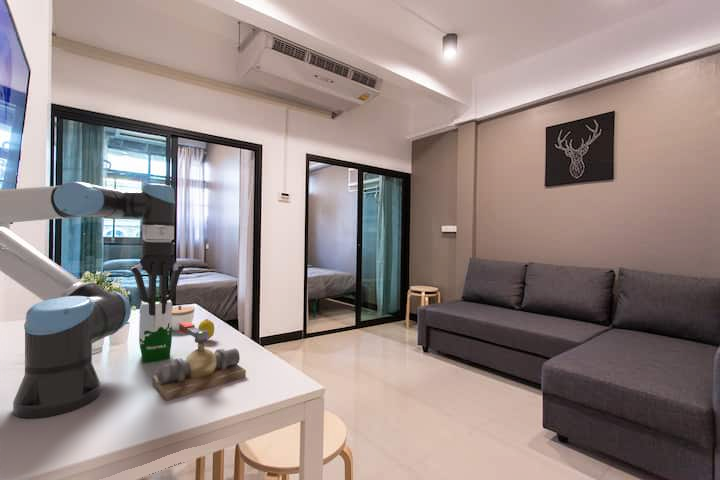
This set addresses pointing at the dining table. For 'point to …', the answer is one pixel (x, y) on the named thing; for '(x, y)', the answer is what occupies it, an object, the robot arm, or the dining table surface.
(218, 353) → the valve rig
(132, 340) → the dining table surface
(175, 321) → the lidded jar
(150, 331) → the milk carton
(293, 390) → the dining table surface
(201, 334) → the lever
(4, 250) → the robot arm
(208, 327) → the lemon
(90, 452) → the dining table surface
